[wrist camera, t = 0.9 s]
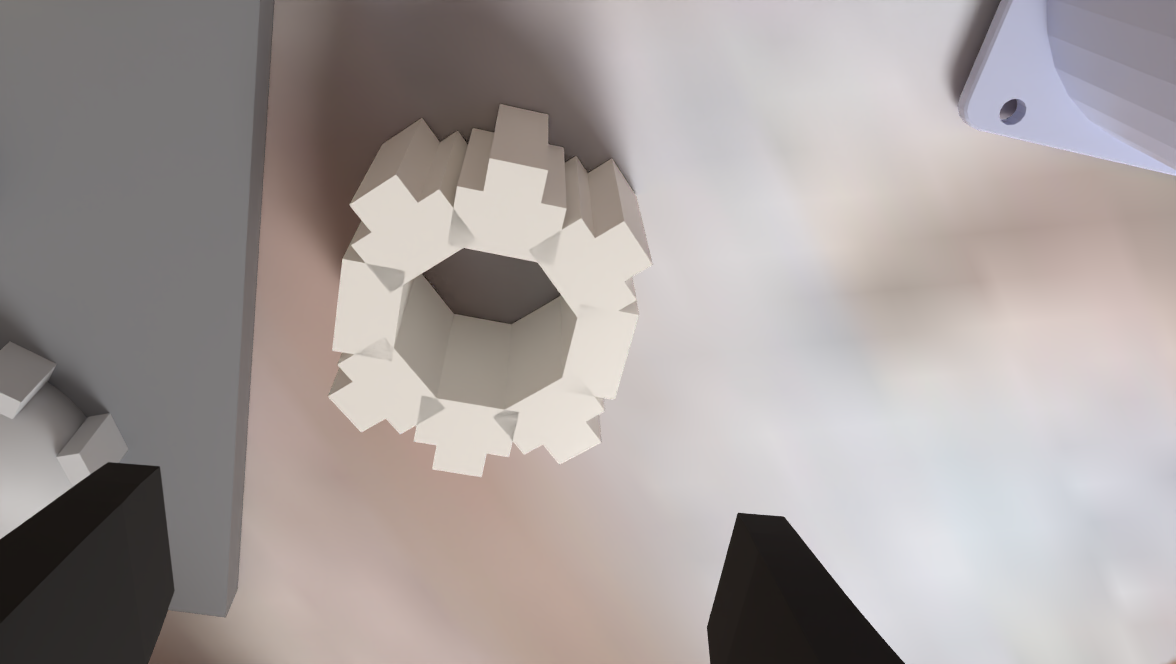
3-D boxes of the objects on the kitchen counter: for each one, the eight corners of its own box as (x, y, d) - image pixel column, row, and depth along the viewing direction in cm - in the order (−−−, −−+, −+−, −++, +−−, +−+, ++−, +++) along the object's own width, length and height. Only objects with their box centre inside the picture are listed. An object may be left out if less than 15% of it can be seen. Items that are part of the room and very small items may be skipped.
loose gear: (652, 137, 19) (673, 196, 16) (582, 400, 22) (587, 494, 19) (389, 80, 18) (356, 130, 15) (354, 361, 21) (321, 451, 18)
